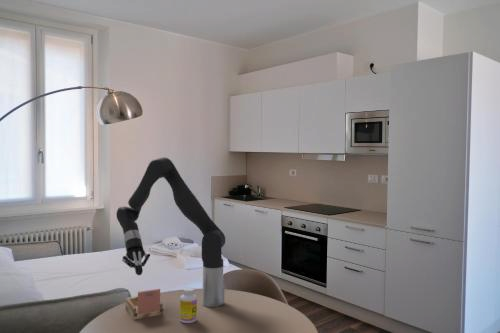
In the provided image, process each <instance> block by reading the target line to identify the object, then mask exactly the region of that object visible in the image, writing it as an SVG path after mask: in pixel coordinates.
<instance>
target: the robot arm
mask: <svg viewBox="0 0 500 333" xmlns="http://www.w3.org/2000/svg"><path fill="white" fill-rule="evenodd" d="M162 178H163V179H165V180H166V182H167V183H168V185H169V187H170V188H171V190H172V195H173V196H172V197H173V201H174V203H175V205H176V207H177V208H178V210H180V212H181V214H182V215H183V216H184V217H186V219H187V220H189V221H190V222H192V223H193V224H194V225H195V226H196V227H197V228H198V229H199V230H200V232H201V234H202V235H203V237H202V238H201V262H202V299H201V300H202V302H201V304H202V306H204V307H207V308H209V307H210V308H214V307H215V308H216V307H220V306H222V305H224V304H225V296H226V294H225V293H226V292H225V291H226V290H225V289H226V288H225V287H226V285H225V282H224V259H223V258H222V257H223V256H222V248H223V247H224V246H225V244H226V236H225V234H224V232H223V231H222V230H221V229H220V228H219V227H218V225H217V224H216V223H215V222H214V221H213V220H212V218H211V217H210V216H209V214H208V213H207V211H206V210H205V208H204V207H203V206H202V204H201V203H200V201H199V199H198V198H197V197H196V195H195V194H194V193H193V191H192V190H191V189H190V187H189V186H188V184H186V182H185V181H184V179H183V178H182V177H181V175H180V172H179V171H178V169H177V168H176V166H175V164H174V163H173V161H172V160H171V159H170V158H169V157H157V158H155V159H152V160H151V161H150V162H149V163H148V165H147V168H146V170H145V172H144V174H143V176H142V178H141V181H140V183H139V184H138V186H137V187H136V189H135V190H134V191H133V193H132V195H131V196H130V197H129V199H128V202H127V204H128V206H124V205H121V206H119V207H118V208H117V210H116V220H117V221H118V223H119V225H120V227H121V228H122V231H123V236H124V238H123V239H124V242H123V243H124V246H125V251H126V254H125V255H123V256H122V259H121V261H122V262H123V263H124V264H126V265H127V266H128V267H129V268H134V271H135V275H137V276H141V275H142V274H143V271H144V269H143V267H145V265H146V264H147V262H148V261H149V259H150V256H151V254H150V253H146V251H145V250H144V246H143V241H142V237H141V234H140V230H139V229H140V228H139V226H138V223H137V222H136V221H137V220H138V219H139V217H140V214H141V213H140V212H141V210H142V208H143V206H144V204H145V203H146V202H147V200H148V199H149V198H150V194H151V190H152V187H154V184H155V183H156V182H157V181H158V180H159V179H162ZM143 258H144V260H143ZM142 260H143V261H142Z"/></svg>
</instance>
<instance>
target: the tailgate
mask: <svg viewBox="0 0 500 333" xmlns="http://www.w3.org/2000/svg"><path fill="white" fill-rule="evenodd" d="M137 297H138V312H137V314H138V315H140V314H146V313H151V312H157V311H160V302H161V288H156V289H150V290H143V291H138V292H137Z"/></svg>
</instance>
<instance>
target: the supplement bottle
mask: <svg viewBox="0 0 500 333" xmlns="http://www.w3.org/2000/svg"><path fill="white" fill-rule="evenodd" d="M195 290H196V289H195V287H193V286H192V287H191V286H188V287H184V288H182V295H180V298H179V300H180V301H179V304H180V305H179V321H180V322H181V323H183V324H193V323H194V322H196V321H197V314H198V313H197V311H198V306H197V305H198V297H197V295H196V294H195Z"/></svg>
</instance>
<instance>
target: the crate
mask: <svg viewBox="0 0 500 333" xmlns="http://www.w3.org/2000/svg"><path fill="white" fill-rule="evenodd" d="M163 307H164V304H163V303H162V301H160V311H157V312H151V313H146V314H140V315H138V314H137V312H138V296H133V297H126V298H125V310H126V311H127V312H128V314H129V315H130V317H131V318H132V319H133V320H134V321H135V320H140V319H146V318H151V317H157V316H162V315H164V314H163V313H164V308H163Z"/></svg>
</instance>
